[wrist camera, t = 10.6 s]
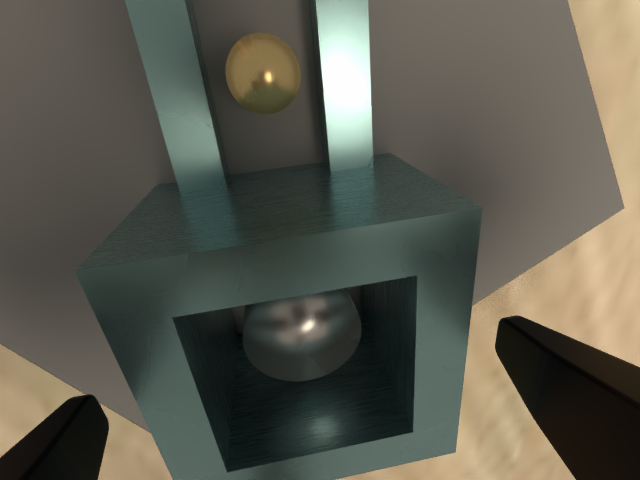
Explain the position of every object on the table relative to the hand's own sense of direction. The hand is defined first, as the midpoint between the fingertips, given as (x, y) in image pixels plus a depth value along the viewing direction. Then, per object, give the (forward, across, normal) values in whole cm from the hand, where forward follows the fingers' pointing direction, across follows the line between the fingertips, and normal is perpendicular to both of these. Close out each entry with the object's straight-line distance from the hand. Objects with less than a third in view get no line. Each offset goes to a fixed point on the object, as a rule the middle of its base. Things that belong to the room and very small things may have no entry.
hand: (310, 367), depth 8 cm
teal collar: (+5, 0, -2) cm, 5 cm away
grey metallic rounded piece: (+5, 0, 0) cm, 5 cm away
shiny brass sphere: (+5, 0, -6) cm, 7 cm away
